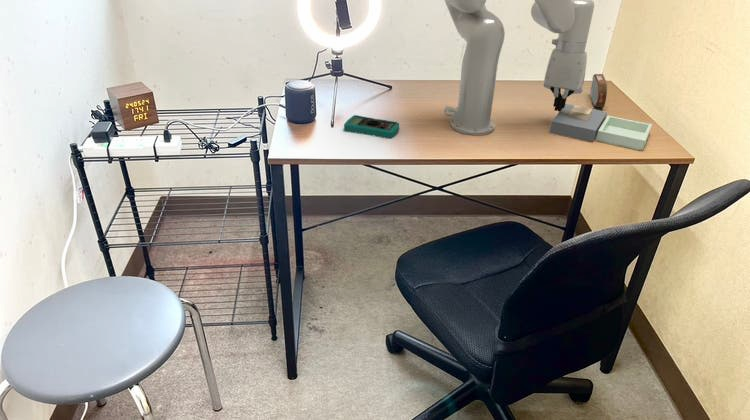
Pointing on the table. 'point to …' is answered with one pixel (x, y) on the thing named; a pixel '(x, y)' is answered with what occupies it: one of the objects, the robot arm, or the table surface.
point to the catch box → (624, 133)
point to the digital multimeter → (372, 126)
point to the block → (580, 113)
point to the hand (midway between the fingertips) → (558, 109)
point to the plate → (577, 124)
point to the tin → (598, 90)
